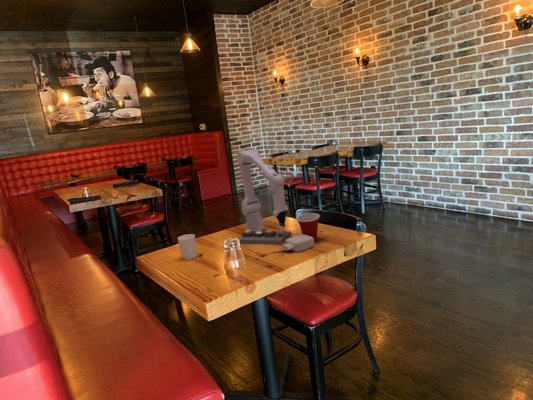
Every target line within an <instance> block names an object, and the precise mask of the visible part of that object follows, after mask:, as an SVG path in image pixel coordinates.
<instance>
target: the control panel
mask: <svg viewBox="0 0 533 400" xmlns="http://www.w3.org/2000/svg"><path fill="white" fill-rule="evenodd" d="M261 231H262V233H261V234H256V232H257V231H251V233H250V234H245V231H244V232H242V233H241V236H239V237H238V238H237V239H239V240H240V243H241V244H243V245H246V244H247V245H283V243H286V239H289V238H291V236H292V231H290V230H289V231H287V230H286V231H284V230H282V233H280V230H278V231H277V230H273V233H272V234H267V232H266V230H261ZM241 244H240V245H241Z"/></svg>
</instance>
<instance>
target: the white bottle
mask: <svg viewBox="0 0 533 400" xmlns="http://www.w3.org/2000/svg"><path fill="white" fill-rule="evenodd" d="M314 247H315V242H314V239H313V237H311V236H307V235H304V234H302V233H301V234H299V235H296V236H292V237H289V238H288V239H286V241H285V244H281V246H280V247H279V250H282V251H285V252H288V251H292V252H297V253H299V252H302V251H305V250H308V249H311V248H314Z"/></svg>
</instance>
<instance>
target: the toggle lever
mask: <svg viewBox="0 0 533 400" xmlns="http://www.w3.org/2000/svg"><path fill="white" fill-rule="evenodd" d="M282 226H283V223H280V225H279V227H280V228H279V231H280V233H282V231H283V227H282Z"/></svg>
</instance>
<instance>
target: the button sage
mask: <svg viewBox="0 0 533 400" xmlns="http://www.w3.org/2000/svg"><path fill="white" fill-rule="evenodd" d="M244 232H245V234H250V233H251V229H248V228H247V229H245V230H244Z"/></svg>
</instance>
